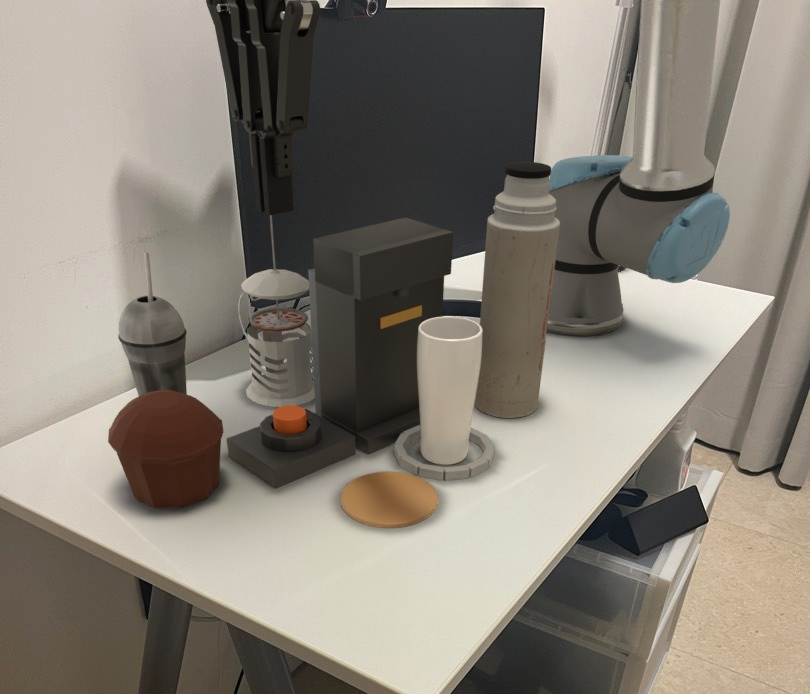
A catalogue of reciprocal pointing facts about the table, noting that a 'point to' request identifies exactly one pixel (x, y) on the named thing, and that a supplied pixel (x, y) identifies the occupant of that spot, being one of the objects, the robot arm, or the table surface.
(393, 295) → the coffee maker
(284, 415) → the power button
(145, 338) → the beverage cup
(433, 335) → the drinking glass
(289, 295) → the french press
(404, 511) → the disc
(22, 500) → the table surface
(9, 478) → the table surface
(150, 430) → the muffin
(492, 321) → the thermos bottle
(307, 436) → the power switch
